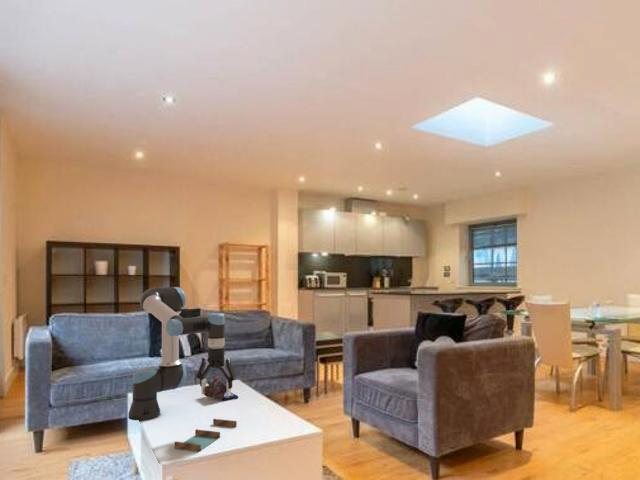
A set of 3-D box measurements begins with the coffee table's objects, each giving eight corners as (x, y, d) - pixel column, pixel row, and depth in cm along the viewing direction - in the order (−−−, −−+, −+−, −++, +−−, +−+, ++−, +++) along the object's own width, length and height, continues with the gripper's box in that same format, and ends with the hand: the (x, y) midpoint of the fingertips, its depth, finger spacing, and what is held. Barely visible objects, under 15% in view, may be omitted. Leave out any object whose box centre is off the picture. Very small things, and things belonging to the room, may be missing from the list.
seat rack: (174, 448, 186) (174, 442, 186) (214, 424, 215) (214, 418, 215) (199, 451, 182) (199, 445, 182) (236, 426, 211) (236, 421, 211)
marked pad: (177, 447, 187) (177, 446, 187) (194, 436, 199) (194, 435, 199) (201, 450, 184) (201, 449, 184) (217, 439, 196) (217, 438, 196)
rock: (211, 404, 199) (232, 399, 205) (212, 385, 198) (233, 381, 204) (201, 394, 208) (222, 390, 214) (202, 376, 208) (222, 372, 213)
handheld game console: (239, 398, 258) (239, 382, 259) (217, 403, 251) (217, 386, 251) (227, 393, 271) (227, 377, 272) (206, 396, 263) (206, 380, 264)
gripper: (188, 347, 208) (188, 394, 206) (236, 349, 201) (235, 398, 199) (197, 344, 215) (197, 390, 214) (243, 346, 208) (243, 394, 206)
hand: (216, 394), depth 206 cm, fingers closed on rock, 12 cm apart
